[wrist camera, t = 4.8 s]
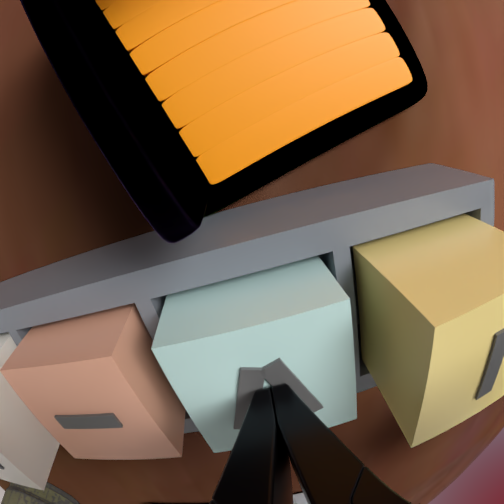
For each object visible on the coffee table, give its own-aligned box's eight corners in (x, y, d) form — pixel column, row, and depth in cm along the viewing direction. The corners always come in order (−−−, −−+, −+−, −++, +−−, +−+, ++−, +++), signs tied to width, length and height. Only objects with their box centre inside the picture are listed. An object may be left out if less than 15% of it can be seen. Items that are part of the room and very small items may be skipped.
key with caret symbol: (303, 236, 11) (351, 300, 7) (321, 339, 12) (357, 420, 8) (174, 270, 11) (150, 351, 7) (213, 366, 12) (214, 455, 8)
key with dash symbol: (146, 277, 11) (110, 359, 7) (189, 371, 12) (182, 459, 8) (51, 303, 11) (-2, 372, 7) (100, 385, 12) (74, 460, 8)
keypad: (431, 163, 12) (494, 179, 8) (434, 297, 14) (478, 338, 11) (-25, 292, 12) (-65, 329, 8) (34, 388, 14) (10, 433, 11)
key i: (464, 213, 9) (560, 261, 5) (457, 319, 11) (522, 384, 7) (352, 246, 9) (437, 330, 5) (361, 358, 11) (412, 450, 7)
